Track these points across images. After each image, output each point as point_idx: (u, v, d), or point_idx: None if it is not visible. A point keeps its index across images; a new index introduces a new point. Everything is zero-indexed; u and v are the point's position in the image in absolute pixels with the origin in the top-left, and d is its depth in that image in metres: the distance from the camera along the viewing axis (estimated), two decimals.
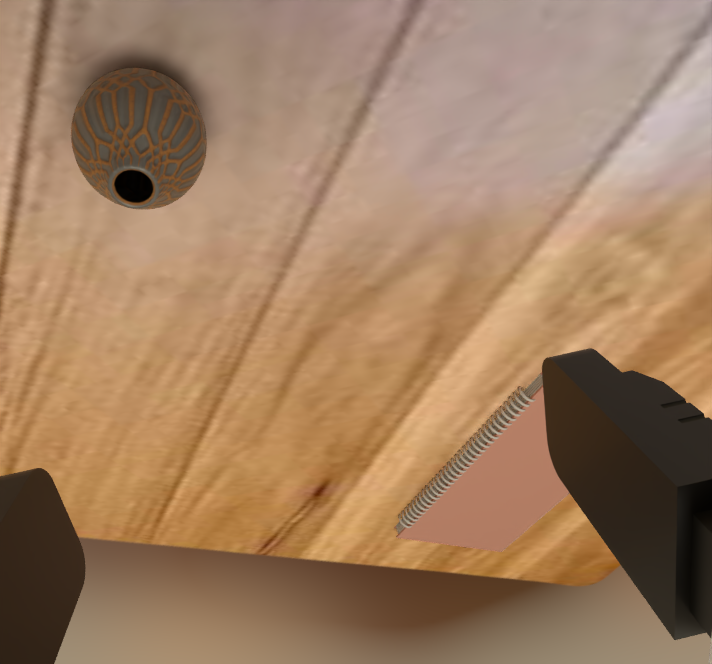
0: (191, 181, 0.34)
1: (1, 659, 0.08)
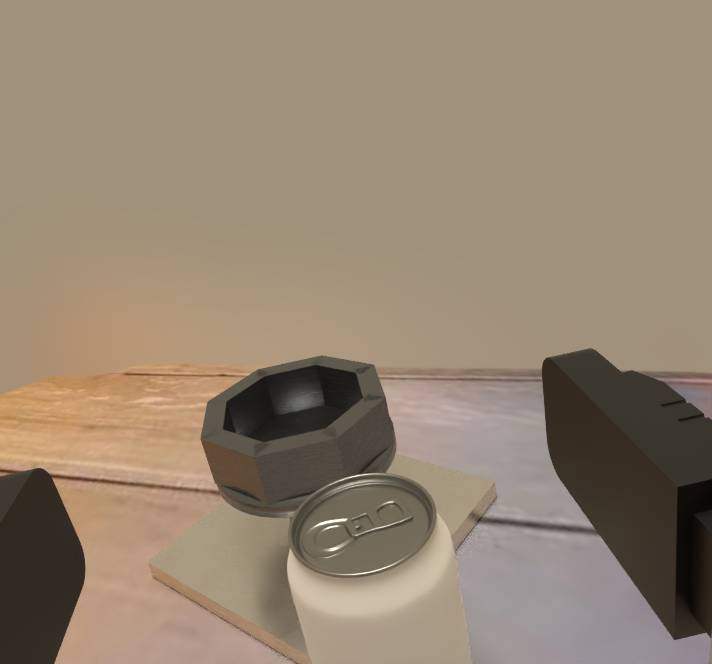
0: None
1: (1, 659, 0.08)
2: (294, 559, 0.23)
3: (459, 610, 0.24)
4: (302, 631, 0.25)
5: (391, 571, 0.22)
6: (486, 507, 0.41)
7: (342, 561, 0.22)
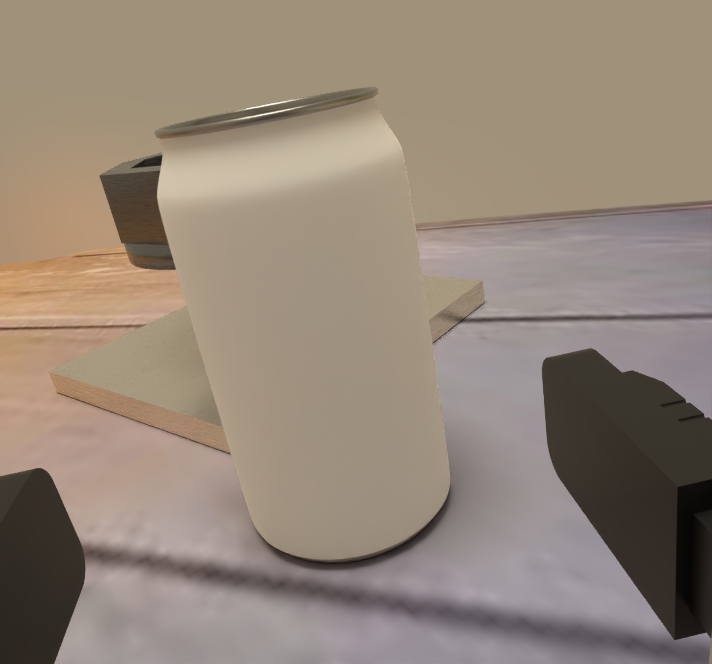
0: None
1: (2, 659, 0.08)
2: (162, 158, 0.16)
3: (413, 254, 0.16)
4: None
5: (298, 123, 0.14)
6: (471, 308, 0.33)
7: None
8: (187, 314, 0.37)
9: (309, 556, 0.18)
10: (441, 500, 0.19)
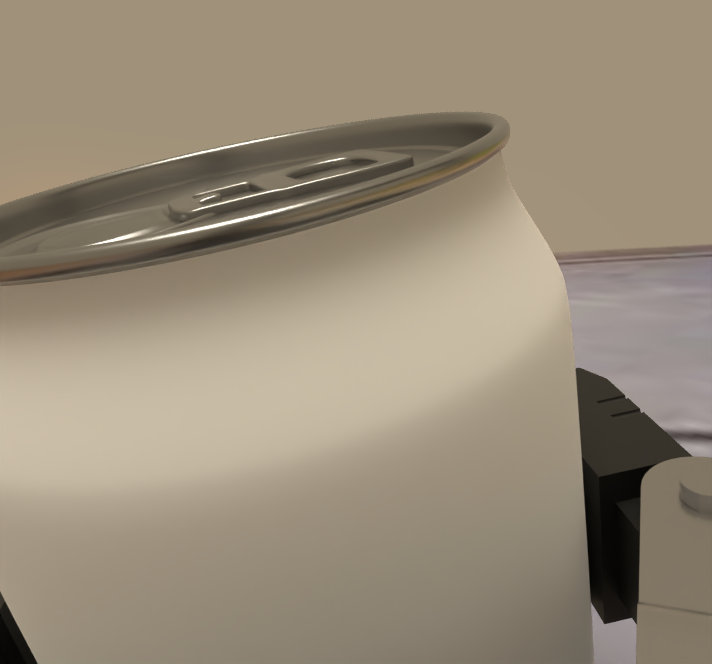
0: None
1: None
2: None
3: (584, 513, 0.07)
4: None
5: (315, 251, 0.04)
6: None
7: None
8: None
9: None
10: None
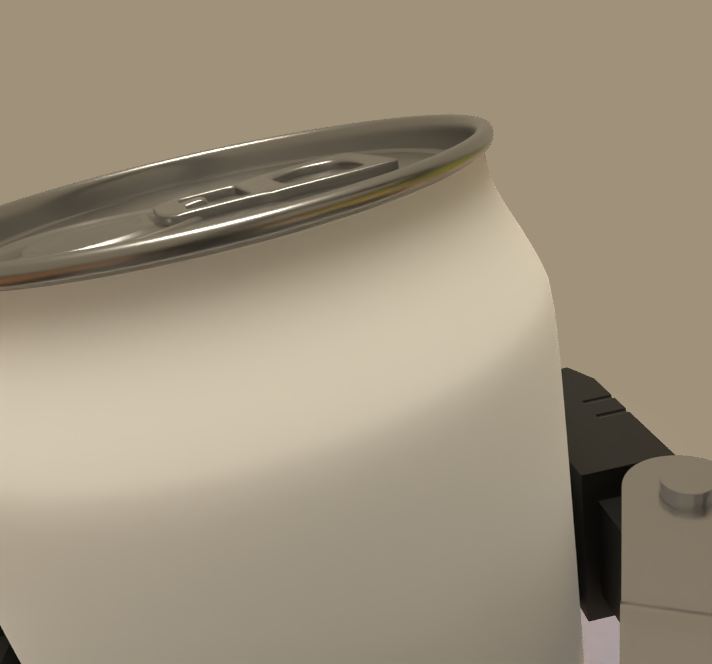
0: None
1: None
2: None
3: (571, 513, 0.07)
4: None
5: (300, 254, 0.04)
6: None
7: None
8: None
9: None
10: None
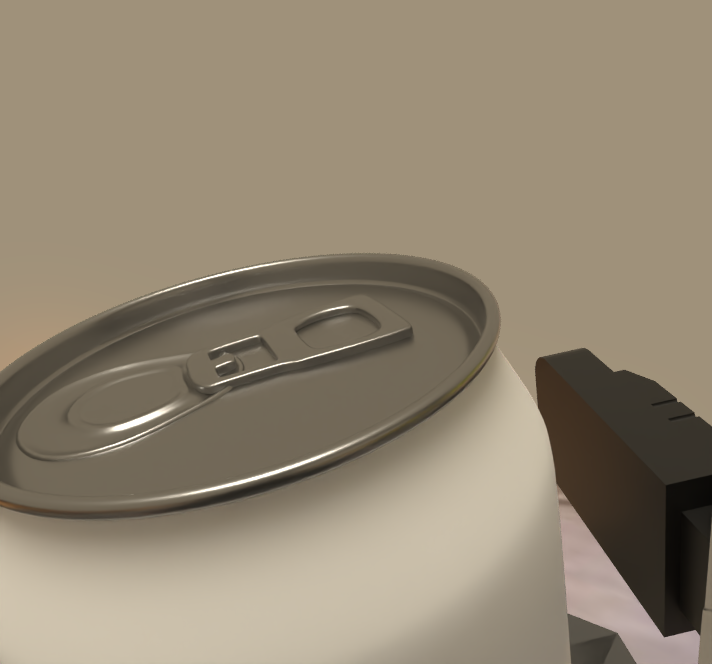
0: None
1: None
2: None
3: (568, 647, 0.07)
4: None
5: (325, 489, 0.05)
6: None
7: (133, 464, 0.05)
8: None
9: None
10: None
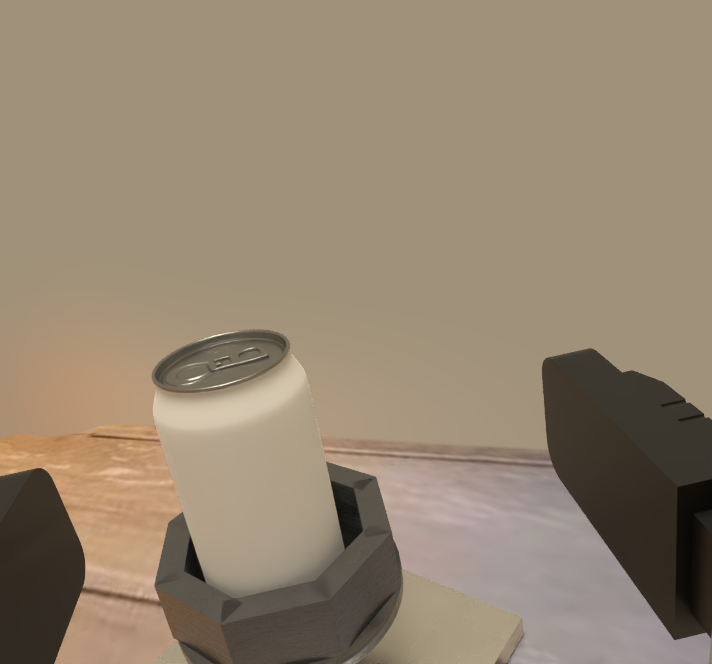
0: None
1: (1, 659, 0.08)
2: (156, 391, 0.25)
3: (313, 443, 0.26)
4: None
5: (238, 387, 0.24)
6: (511, 651, 0.33)
7: (197, 385, 0.24)
8: None
9: None
10: None
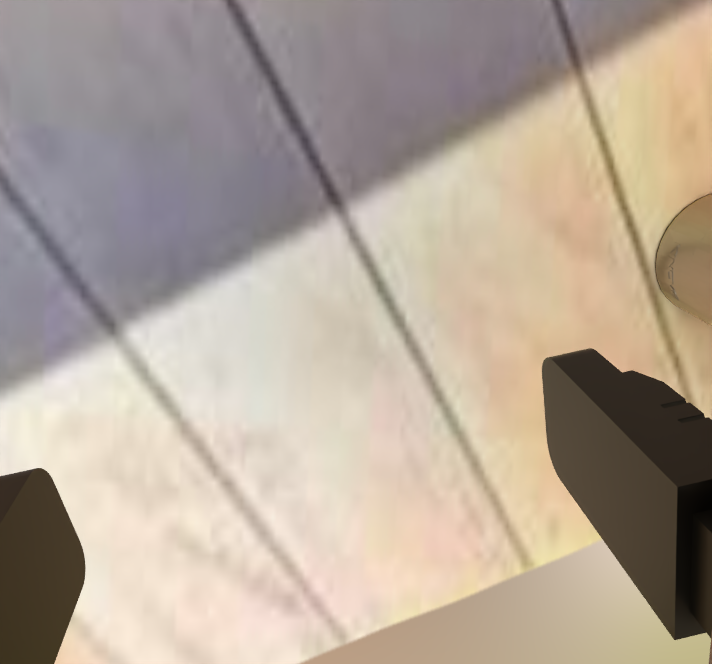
0: None
1: (2, 659, 0.08)
2: None
3: None
4: None
5: None
6: None
7: None
8: None
9: None
10: None
